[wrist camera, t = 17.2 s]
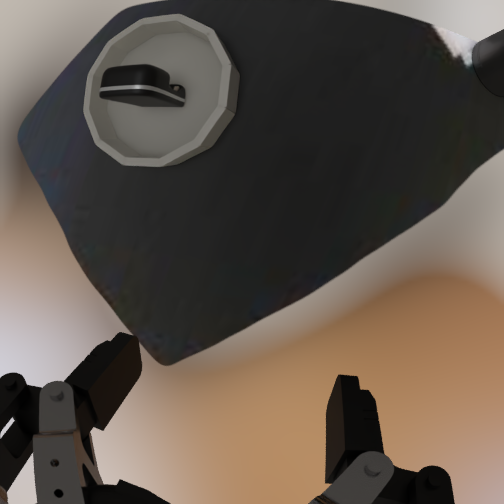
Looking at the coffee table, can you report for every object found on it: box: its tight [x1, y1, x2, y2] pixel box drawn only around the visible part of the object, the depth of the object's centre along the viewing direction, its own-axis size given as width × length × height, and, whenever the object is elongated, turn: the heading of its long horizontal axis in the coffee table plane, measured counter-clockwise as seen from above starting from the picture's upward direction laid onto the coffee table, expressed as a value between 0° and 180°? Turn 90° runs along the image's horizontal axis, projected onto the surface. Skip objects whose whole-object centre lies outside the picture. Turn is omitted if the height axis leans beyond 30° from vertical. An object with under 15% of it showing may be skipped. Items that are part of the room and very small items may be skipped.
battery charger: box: [99, 64, 186, 107], centre depth 31 cm, size 7×4×11 cm, turn 83°
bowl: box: [83, 14, 240, 167], centre depth 35 cm, size 20×20×6 cm
